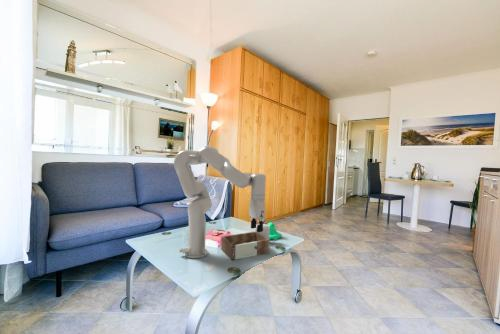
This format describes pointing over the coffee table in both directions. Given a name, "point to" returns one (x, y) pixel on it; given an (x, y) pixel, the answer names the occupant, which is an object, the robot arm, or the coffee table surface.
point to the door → (245, 250)
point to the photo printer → (264, 231)
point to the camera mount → (273, 232)
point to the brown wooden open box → (236, 239)
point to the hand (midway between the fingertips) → (256, 229)
